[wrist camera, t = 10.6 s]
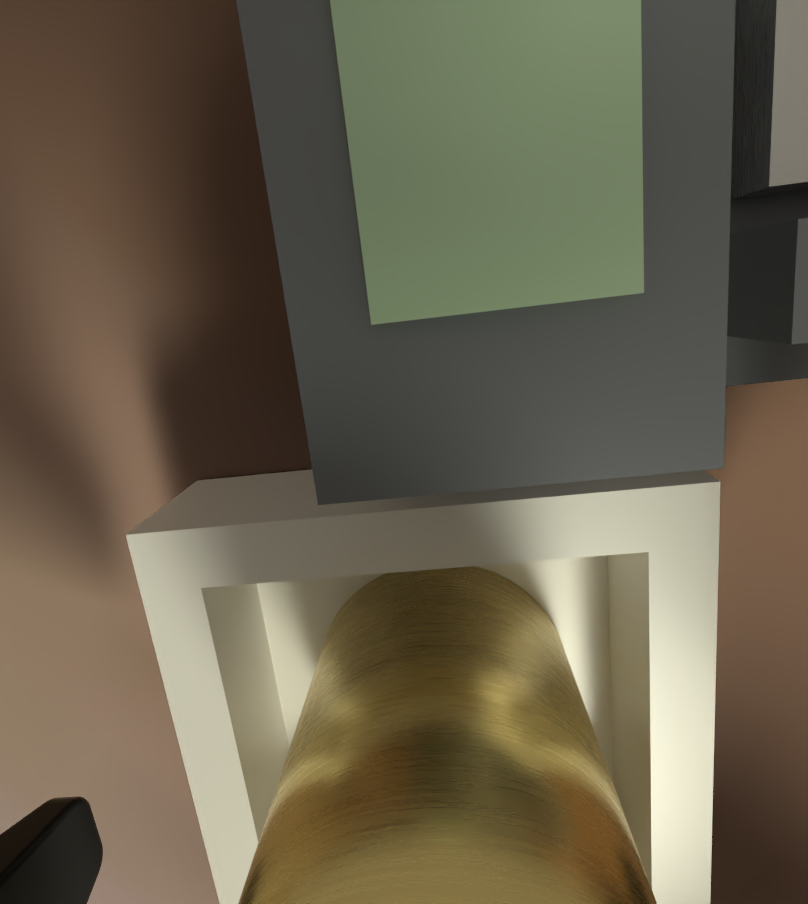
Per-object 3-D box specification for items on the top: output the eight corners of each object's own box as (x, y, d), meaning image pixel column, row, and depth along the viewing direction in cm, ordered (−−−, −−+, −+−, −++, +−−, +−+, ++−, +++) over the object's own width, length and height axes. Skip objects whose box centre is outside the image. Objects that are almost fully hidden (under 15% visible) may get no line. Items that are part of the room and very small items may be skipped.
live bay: (651, 436, 9) (720, 481, 7) (653, 815, 10) (709, 947, 8) (197, 480, 9) (125, 535, 7) (273, 832, 11) (234, 959, 9)
